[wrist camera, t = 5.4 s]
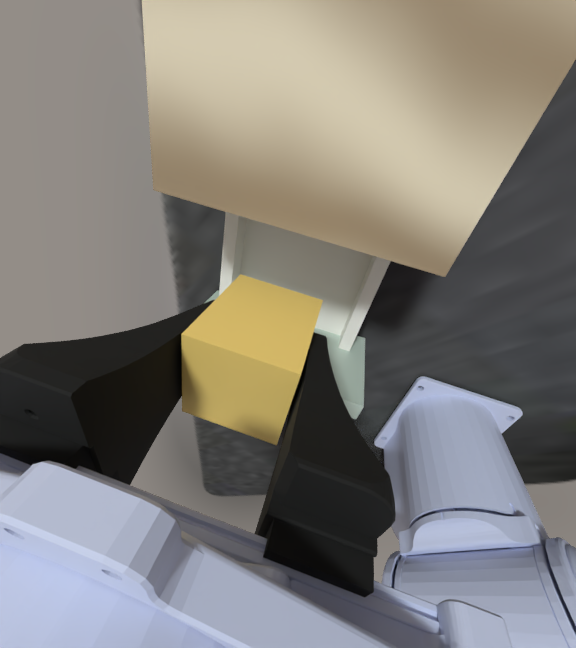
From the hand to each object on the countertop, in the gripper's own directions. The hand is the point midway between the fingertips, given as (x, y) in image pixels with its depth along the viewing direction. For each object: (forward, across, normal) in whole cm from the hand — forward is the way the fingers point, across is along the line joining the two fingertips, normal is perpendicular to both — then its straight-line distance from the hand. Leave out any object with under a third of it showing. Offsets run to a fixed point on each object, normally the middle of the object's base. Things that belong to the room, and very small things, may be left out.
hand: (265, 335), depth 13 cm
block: (+2, 0, 0) cm, 2 cm away
